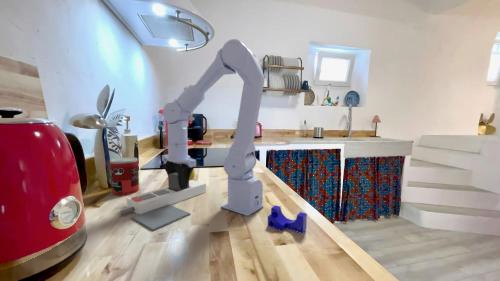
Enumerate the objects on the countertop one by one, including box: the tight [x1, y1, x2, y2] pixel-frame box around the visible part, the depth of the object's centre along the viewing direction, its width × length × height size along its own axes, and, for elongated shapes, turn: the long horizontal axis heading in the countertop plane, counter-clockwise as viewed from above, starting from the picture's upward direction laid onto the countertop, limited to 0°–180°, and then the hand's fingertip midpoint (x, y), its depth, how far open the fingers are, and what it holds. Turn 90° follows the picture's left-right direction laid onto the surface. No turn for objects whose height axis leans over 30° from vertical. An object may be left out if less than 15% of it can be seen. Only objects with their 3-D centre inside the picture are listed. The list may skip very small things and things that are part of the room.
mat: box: [130, 204, 191, 232], centre depth 54 cm, size 10×10×1 cm
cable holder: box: [267, 205, 308, 234], centre depth 49 cm, size 8×4×4 cm, turn 55°
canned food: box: [109, 156, 140, 196], centre depth 71 cm, size 8×8×11 cm
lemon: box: [189, 168, 196, 181], centre depth 80 cm, size 6×6×8 cm
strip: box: [119, 179, 207, 216], centre depth 64 cm, size 25×7×4 cm, turn 144°
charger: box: [167, 172, 189, 192], centre depth 67 cm, size 4×4×6 cm
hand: (178, 186), depth 67 cm, fingers closed on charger, 4 cm apart
